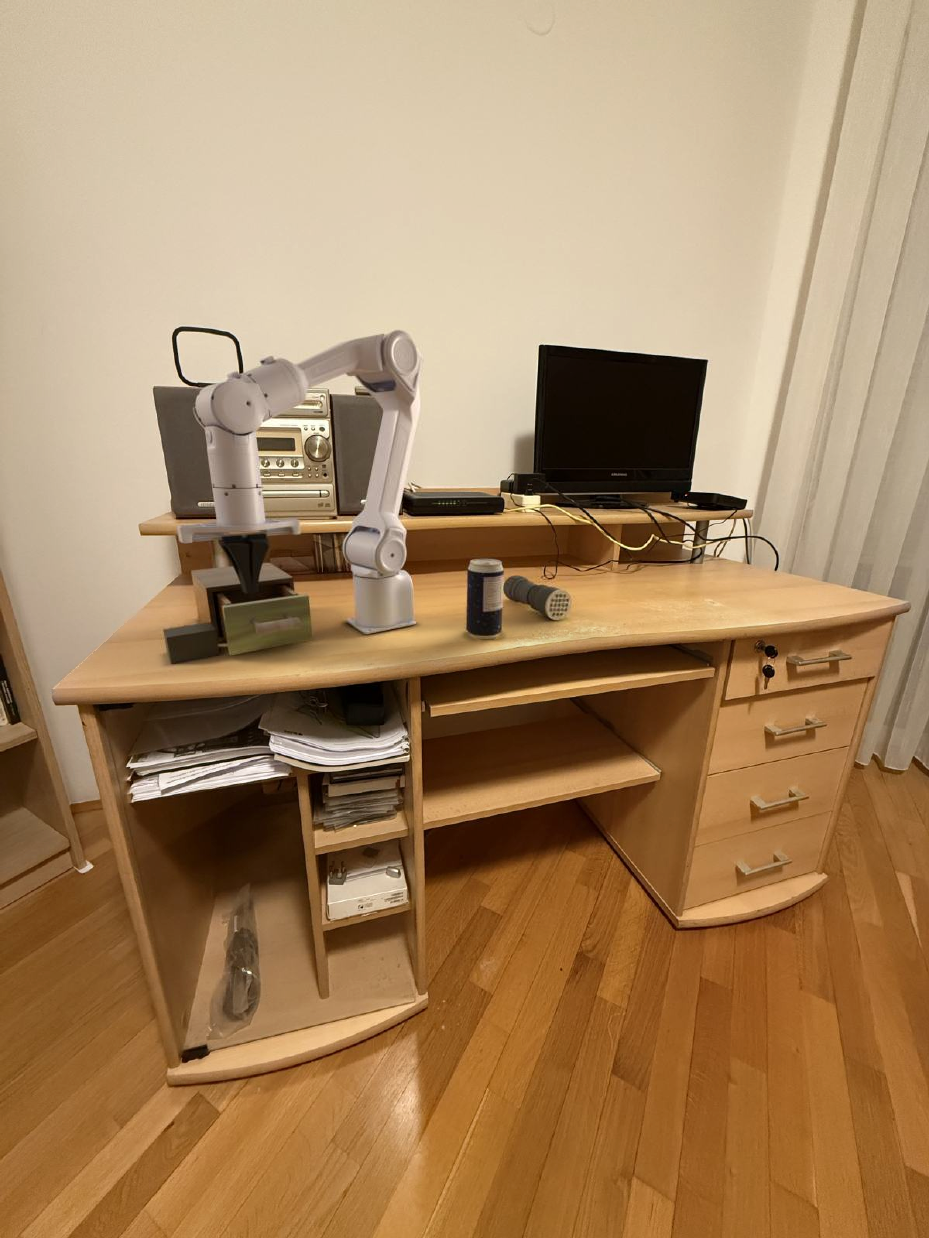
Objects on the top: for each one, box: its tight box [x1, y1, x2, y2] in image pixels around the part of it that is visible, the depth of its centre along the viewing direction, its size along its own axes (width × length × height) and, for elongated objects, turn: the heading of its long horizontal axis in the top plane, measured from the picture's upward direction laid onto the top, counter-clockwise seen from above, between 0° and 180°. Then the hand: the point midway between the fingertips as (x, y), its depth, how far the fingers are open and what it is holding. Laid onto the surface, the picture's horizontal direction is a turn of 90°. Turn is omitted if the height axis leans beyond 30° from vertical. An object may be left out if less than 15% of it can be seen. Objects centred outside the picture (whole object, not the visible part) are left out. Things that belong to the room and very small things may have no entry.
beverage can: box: [465, 558, 505, 640], centre depth 77 cm, size 6×6×12 cm
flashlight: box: [503, 574, 573, 621], centre depth 93 cm, size 15×5×5 cm, turn 28°
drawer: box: [212, 584, 313, 656], centre depth 72 cm, size 17×11×7 cm, turn 36°
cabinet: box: [190, 562, 296, 644], centre depth 81 cm, size 14×13×9 cm
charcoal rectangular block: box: [162, 622, 220, 665], centre depth 68 cm, size 6×4×4 cm, turn 126°
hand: (250, 591), depth 66 cm, fingers closed
